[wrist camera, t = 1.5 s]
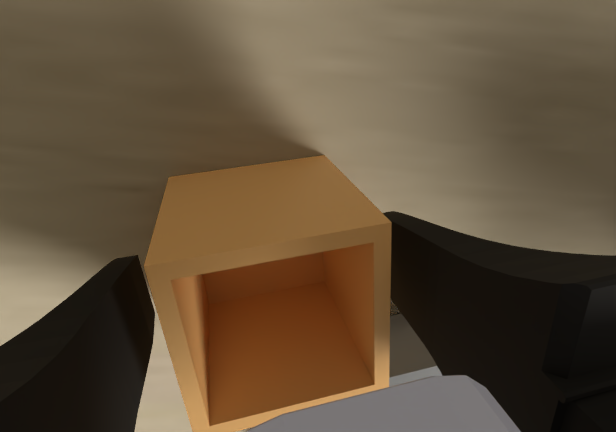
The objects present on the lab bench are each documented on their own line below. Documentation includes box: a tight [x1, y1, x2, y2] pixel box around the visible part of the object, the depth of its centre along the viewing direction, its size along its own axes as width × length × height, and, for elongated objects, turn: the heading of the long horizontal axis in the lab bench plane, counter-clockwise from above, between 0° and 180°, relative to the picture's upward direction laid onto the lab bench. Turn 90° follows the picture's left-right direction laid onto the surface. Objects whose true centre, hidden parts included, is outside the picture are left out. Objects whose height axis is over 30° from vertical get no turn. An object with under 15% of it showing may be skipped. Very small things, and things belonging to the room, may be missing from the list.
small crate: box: [144, 155, 392, 432], centre depth 11 cm, size 5×5×6 cm
